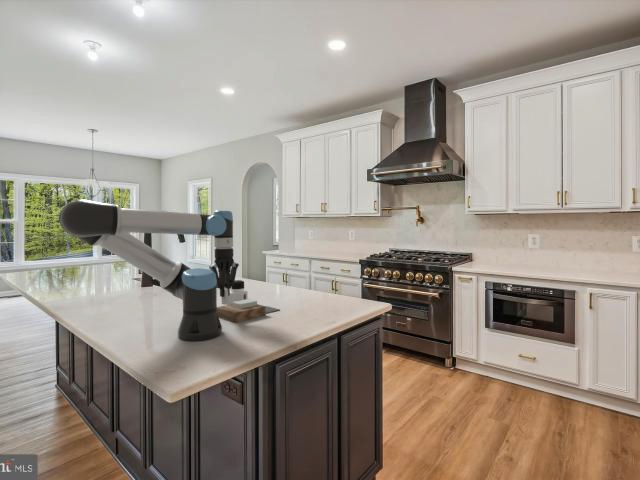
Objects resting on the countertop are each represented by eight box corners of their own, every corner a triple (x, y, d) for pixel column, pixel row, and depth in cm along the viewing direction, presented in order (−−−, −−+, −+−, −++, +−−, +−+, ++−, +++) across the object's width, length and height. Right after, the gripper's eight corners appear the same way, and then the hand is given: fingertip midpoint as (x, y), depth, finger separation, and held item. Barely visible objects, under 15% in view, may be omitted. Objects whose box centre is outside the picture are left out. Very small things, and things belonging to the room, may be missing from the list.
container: (247, 306, 175) (247, 279, 174) (242, 310, 167) (242, 282, 167) (232, 305, 176) (232, 279, 175) (226, 309, 168) (226, 281, 167)
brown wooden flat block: (234, 322, 146) (234, 313, 146) (215, 316, 156) (215, 307, 156) (265, 315, 158) (265, 306, 158) (246, 309, 168) (246, 301, 167)
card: (239, 308, 153) (239, 304, 153) (231, 306, 157) (231, 302, 157) (257, 305, 159) (257, 300, 159) (249, 303, 164) (249, 298, 163)
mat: (262, 314, 159) (262, 313, 159) (249, 310, 166) (249, 309, 166) (279, 310, 167) (279, 309, 167) (266, 306, 173) (266, 306, 173)
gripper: (214, 249, 142) (215, 308, 144) (242, 247, 152) (243, 302, 153) (205, 248, 147) (206, 305, 149) (232, 246, 157) (233, 300, 158)
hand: (225, 304), depth 151 cm, fingers closed
